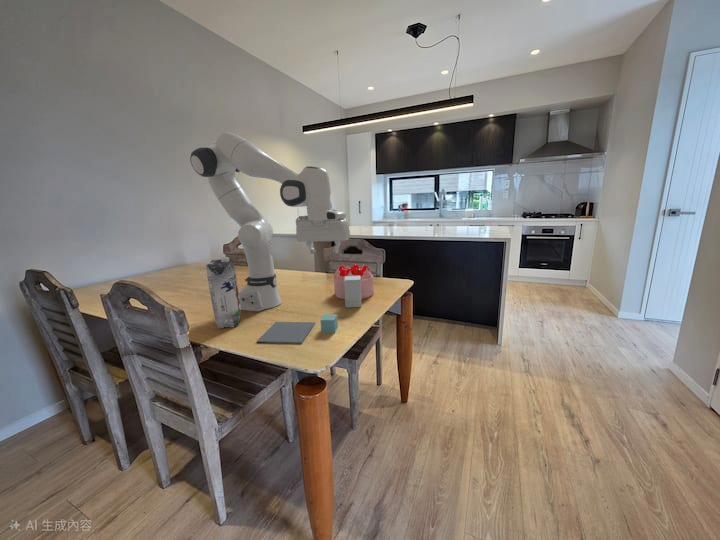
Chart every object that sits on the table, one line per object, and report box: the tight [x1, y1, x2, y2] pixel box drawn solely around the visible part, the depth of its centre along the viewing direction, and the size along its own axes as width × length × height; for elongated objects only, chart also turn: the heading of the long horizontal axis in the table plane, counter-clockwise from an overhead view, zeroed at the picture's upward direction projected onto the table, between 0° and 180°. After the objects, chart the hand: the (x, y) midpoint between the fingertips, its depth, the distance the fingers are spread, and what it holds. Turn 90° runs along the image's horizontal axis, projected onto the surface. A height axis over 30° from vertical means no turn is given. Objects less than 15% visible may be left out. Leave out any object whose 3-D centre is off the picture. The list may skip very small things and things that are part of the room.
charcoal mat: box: [256, 321, 316, 345], centre depth 104 cm, size 16×16×1 cm
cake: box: [333, 263, 375, 301], centre depth 143 cm, size 20×20×14 cm
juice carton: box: [205, 256, 242, 329], centre depth 111 cm, size 9×10×27 cm
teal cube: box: [320, 314, 339, 334], centre depth 105 cm, size 5×5×5 cm
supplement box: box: [344, 276, 363, 308], centre depth 128 cm, size 7×7×13 cm
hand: (324, 253), depth 104 cm, fingers open, 8 cm apart
